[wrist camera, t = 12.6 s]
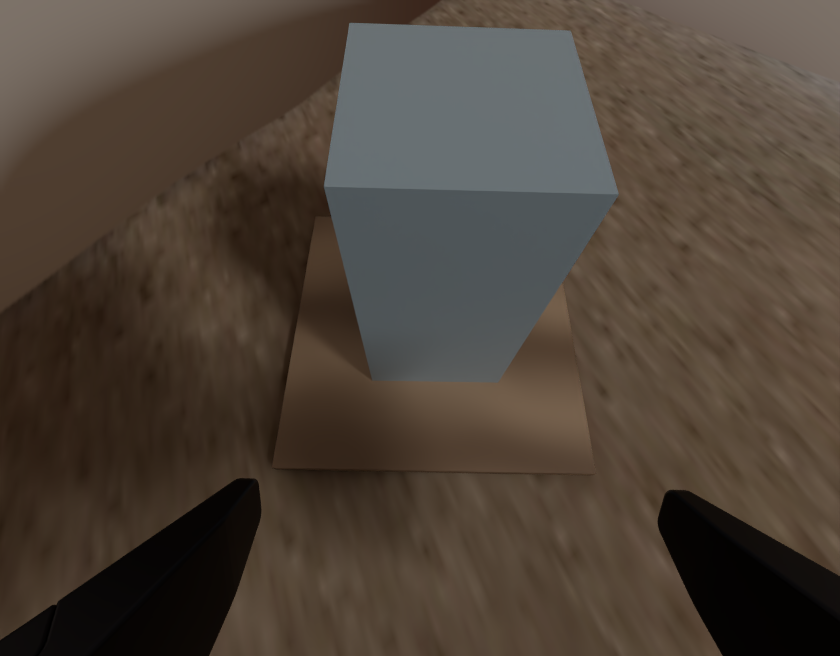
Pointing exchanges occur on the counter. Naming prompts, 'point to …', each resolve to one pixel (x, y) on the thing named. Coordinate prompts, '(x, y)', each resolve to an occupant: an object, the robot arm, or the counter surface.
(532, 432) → the post base
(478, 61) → the tall slate pillar
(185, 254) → the counter surface
